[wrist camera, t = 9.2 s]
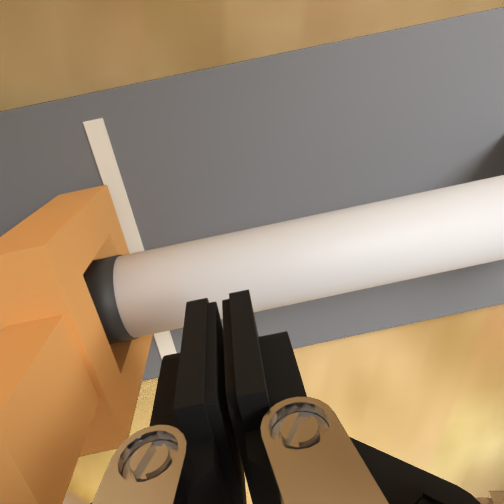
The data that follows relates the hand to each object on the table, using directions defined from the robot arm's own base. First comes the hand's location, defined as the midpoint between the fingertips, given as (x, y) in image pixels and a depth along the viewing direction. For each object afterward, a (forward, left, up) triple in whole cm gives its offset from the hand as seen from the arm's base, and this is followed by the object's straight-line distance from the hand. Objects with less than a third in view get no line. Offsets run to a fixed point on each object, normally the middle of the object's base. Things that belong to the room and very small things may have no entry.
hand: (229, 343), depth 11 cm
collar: (+5, 0, -8) cm, 9 cm away
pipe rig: (-2, 0, -10) cm, 11 cm away
